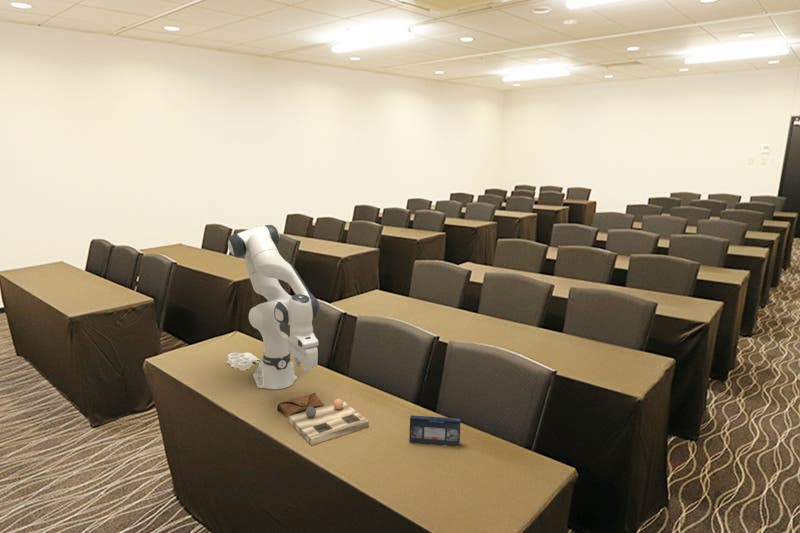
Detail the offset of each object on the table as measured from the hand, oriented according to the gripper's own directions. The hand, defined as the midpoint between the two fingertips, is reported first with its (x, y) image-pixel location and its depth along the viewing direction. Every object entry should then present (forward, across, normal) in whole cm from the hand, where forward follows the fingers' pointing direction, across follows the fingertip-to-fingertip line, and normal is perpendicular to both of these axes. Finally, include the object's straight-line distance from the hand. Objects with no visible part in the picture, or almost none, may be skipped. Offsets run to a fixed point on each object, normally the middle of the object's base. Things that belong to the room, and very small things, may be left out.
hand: (302, 370), depth 202 cm
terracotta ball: (+15, +7, +12) cm, 20 cm away
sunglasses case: (+20, -6, +2) cm, 21 cm away
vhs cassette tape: (+20, +45, +31) cm, 58 cm away
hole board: (+19, +12, +5) cm, 23 cm away
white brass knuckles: (+20, -65, -3) cm, 68 cm away
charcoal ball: (+15, +7, 0) cm, 16 cm away
